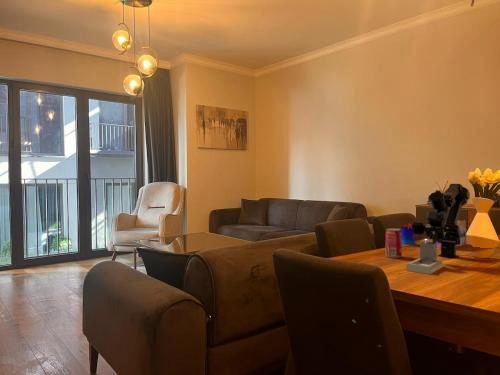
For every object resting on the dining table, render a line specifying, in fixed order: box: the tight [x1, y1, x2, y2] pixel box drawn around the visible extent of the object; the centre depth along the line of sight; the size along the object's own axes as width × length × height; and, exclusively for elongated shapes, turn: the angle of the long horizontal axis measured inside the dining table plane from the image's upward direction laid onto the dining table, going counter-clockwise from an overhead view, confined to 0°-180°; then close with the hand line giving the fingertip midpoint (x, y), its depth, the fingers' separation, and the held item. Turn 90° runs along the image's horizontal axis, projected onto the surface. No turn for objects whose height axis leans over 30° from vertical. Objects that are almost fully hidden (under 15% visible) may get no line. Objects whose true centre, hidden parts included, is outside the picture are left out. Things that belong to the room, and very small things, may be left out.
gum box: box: [427, 219, 467, 250], centre depth 210 cm, size 24×8×14 cm, turn 121°
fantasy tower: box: [400, 223, 420, 248], centre depth 212 cm, size 12×12×12 cm
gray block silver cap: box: [419, 237, 438, 264], centre depth 161 cm, size 5×5×10 cm
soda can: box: [385, 228, 403, 259], centre depth 181 cm, size 7×7×13 cm
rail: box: [405, 257, 445, 275], centre depth 159 cm, size 17×9×3 cm, turn 137°
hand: (430, 245), depth 163 cm, fingers closed, pressing on gray block silver cap
